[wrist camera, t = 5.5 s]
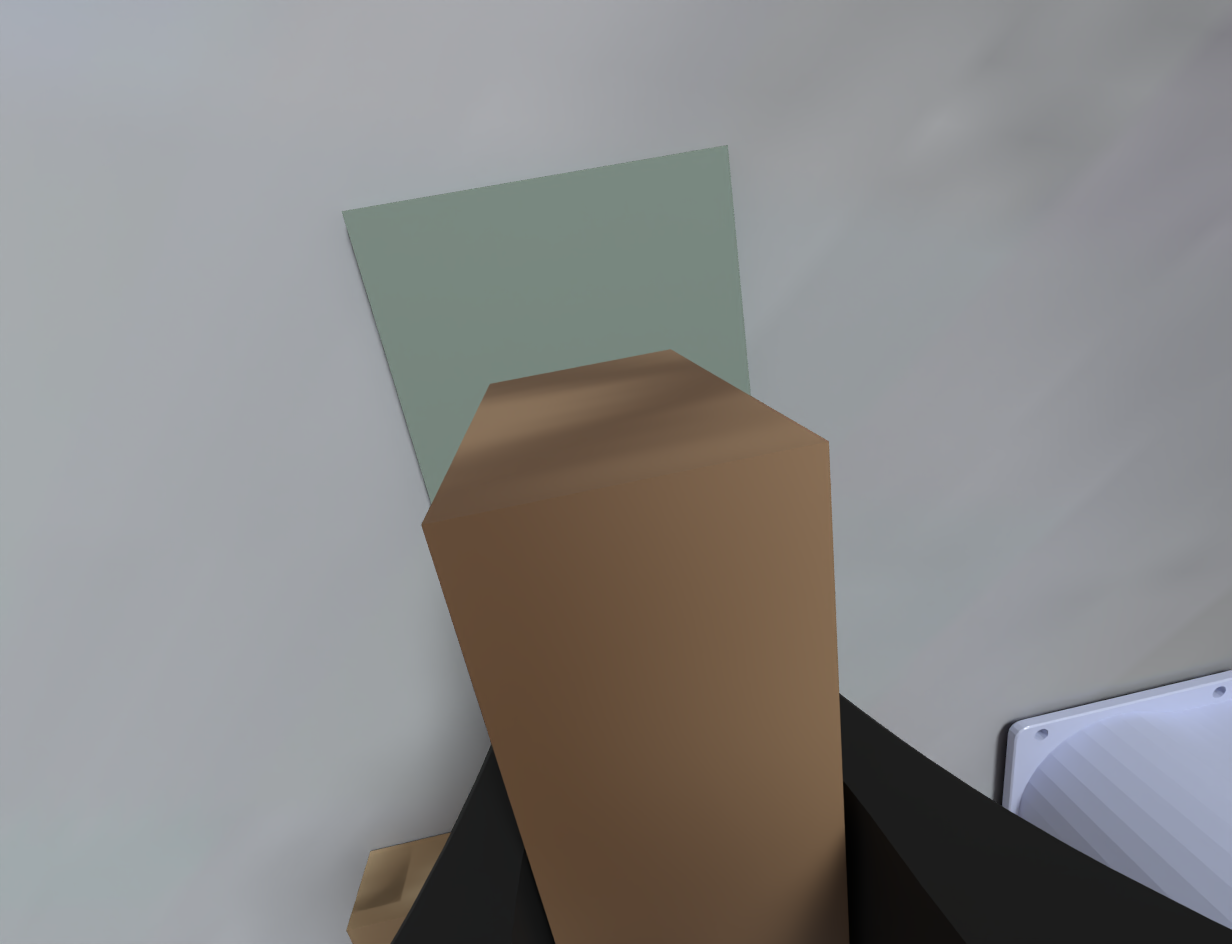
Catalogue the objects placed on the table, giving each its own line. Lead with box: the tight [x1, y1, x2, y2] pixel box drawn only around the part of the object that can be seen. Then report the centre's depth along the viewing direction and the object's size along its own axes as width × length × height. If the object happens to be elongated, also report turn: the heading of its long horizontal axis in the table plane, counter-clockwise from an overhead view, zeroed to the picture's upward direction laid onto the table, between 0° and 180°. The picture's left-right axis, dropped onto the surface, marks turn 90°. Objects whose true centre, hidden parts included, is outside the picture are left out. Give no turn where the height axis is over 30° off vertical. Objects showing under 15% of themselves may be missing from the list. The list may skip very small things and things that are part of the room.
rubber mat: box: [342, 145, 751, 504], centre depth 16 cm, size 9×18×1 cm, turn 10°
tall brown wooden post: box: [422, 349, 849, 944], centre depth 9 cm, size 3×12×6 cm, turn 10°
